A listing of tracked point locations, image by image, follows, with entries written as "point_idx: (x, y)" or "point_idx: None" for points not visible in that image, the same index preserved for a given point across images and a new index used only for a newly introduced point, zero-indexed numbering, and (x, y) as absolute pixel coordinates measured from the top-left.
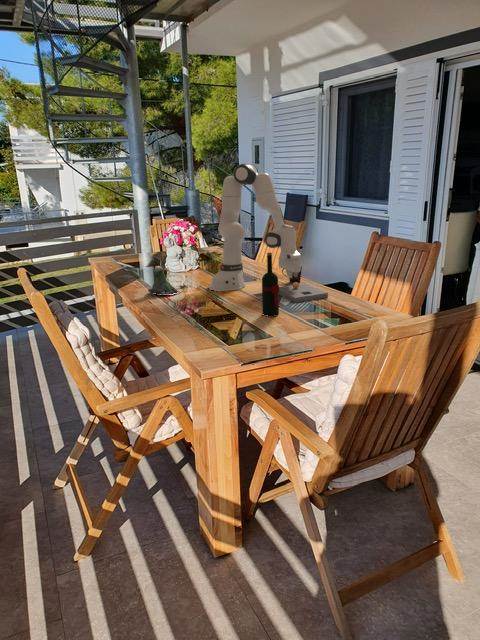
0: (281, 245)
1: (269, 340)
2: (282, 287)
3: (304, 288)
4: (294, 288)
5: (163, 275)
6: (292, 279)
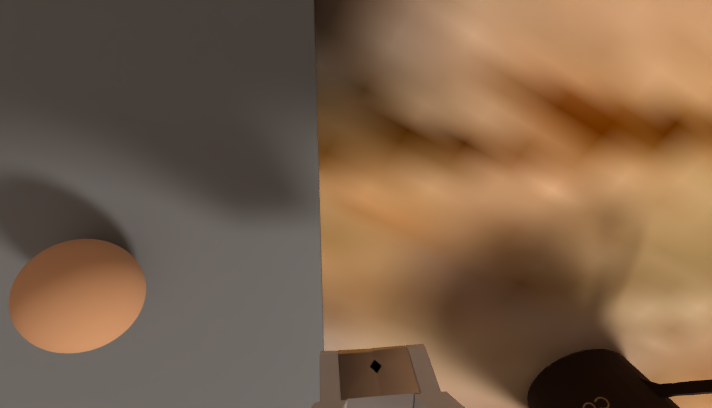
0: None
1: None
2: (256, 109)
3: None
4: None
5: None
6: (584, 392)
